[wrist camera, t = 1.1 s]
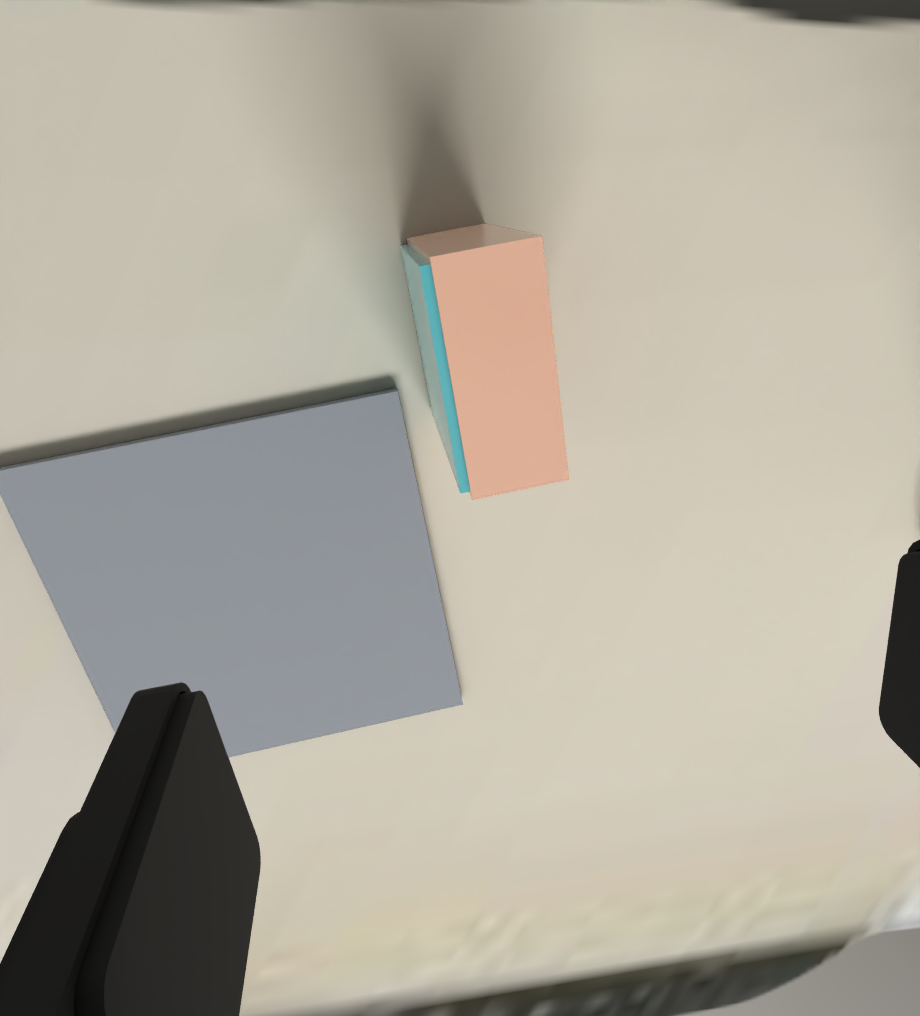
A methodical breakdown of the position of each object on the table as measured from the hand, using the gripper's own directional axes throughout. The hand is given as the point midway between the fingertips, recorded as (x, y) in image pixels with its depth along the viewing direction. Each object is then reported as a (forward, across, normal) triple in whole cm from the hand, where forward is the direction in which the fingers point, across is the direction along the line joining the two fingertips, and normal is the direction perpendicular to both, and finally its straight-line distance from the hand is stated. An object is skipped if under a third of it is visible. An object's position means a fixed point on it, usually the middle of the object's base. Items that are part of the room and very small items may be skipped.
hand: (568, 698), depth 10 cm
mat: (+21, +9, +9) cm, 25 cm away
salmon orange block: (+21, -2, -1) cm, 21 cm away
